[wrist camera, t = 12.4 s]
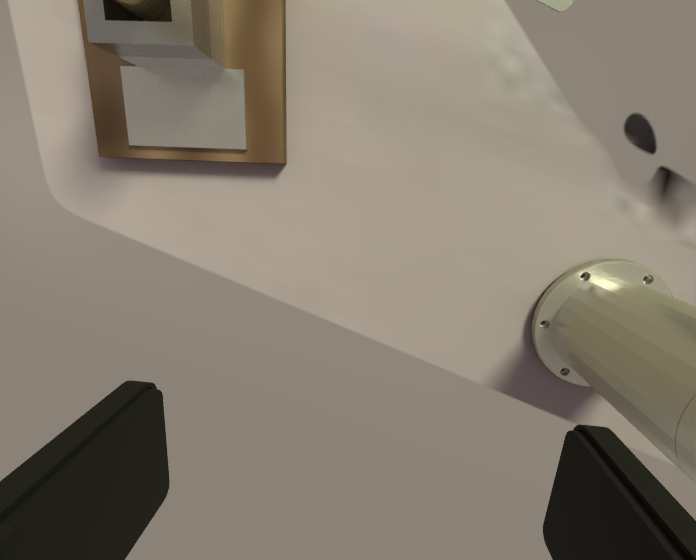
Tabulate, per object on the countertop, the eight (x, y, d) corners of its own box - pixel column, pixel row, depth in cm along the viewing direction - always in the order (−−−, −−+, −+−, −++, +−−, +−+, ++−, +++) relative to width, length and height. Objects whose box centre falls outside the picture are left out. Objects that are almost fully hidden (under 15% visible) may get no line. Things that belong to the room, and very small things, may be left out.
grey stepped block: (238, -134, 27) (202, -220, 21) (247, 149, 32) (221, 144, 26) (100, -135, 27) (27, -220, 21) (131, 145, 32) (80, 138, 26)
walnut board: (284, -134, 28) (279, -151, 26) (286, 164, 33) (282, 163, 32) (73, -137, 28) (57, -153, 27) (110, 157, 34) (99, 156, 32)
